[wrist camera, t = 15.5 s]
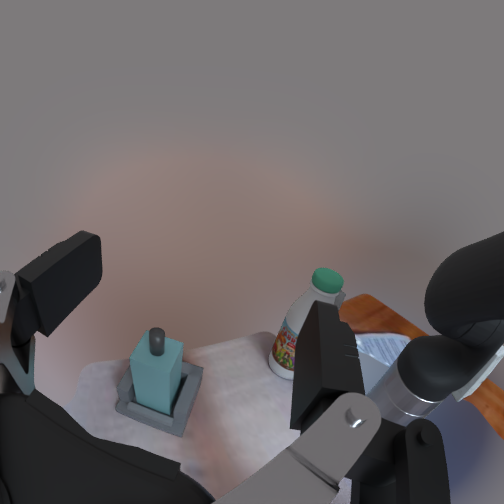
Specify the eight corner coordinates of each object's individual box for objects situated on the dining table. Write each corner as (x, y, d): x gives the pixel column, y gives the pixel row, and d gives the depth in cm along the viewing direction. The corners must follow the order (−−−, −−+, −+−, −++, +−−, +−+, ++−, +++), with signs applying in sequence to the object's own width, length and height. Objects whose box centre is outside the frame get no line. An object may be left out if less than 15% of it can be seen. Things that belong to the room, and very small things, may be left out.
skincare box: (456, 403, 41) (498, 357, 34) (444, 385, 46) (483, 339, 40) (471, 394, 43) (509, 351, 37) (460, 377, 49) (495, 334, 42)
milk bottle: (275, 343, 52) (310, 255, 42) (311, 359, 50) (355, 273, 40) (261, 370, 45) (298, 276, 36) (301, 387, 43) (352, 298, 34)
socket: (181, 437, 30) (182, 425, 28) (116, 411, 31) (111, 396, 29) (200, 384, 39) (203, 368, 37) (143, 363, 40) (141, 346, 38)
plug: (169, 415, 32) (170, 356, 26) (137, 402, 32) (127, 340, 26) (179, 389, 37) (185, 326, 30) (149, 378, 37) (146, 312, 30)
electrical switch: (313, 306, 65) (330, 276, 61) (331, 316, 64) (349, 288, 59) (299, 326, 58) (318, 295, 53) (319, 338, 56) (340, 308, 52)
